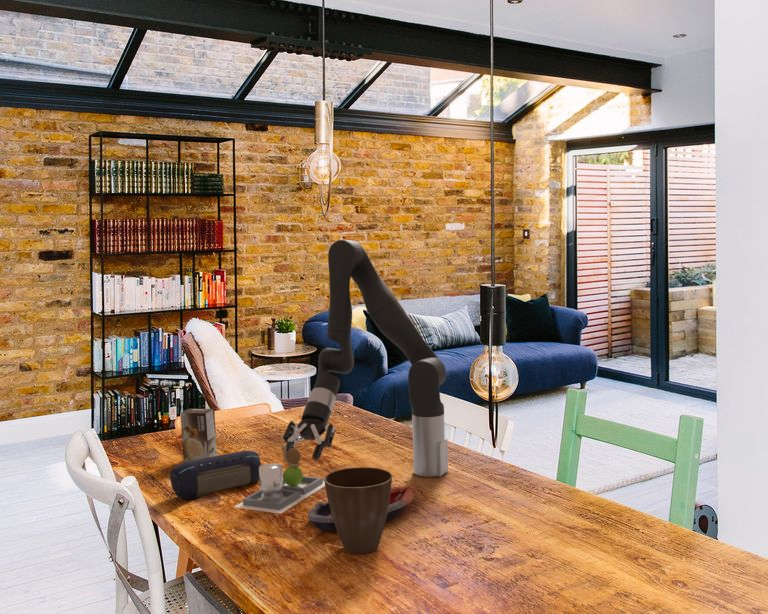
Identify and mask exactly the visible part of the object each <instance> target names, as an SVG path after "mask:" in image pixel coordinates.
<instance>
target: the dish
mask: <svg viewBox="0 0 768 614" xmlns="http://www.w3.org/2000/svg"><path fill="white" fill-rule="evenodd" d="M415 491H416V490H415V488H414V487H411V486H410V485H409V486H391V494H390V501H389V507H388V512H387V517H386V521H385V523H386V522H388V521H391V520H394V519H395V518H397V517H399V516H402V515H403V514H404V513H406V511H407V510H408V508H409V506H410V505H411V502H412V501H413V498H415V497H414V496H415ZM307 518H308V520H309V521H310V524H311V525H312V526H314V527H316V529H317V530H319V531H326V532H327V531H328V532H337V529H336V526H335V524H334V520H333V517H332V515H331V510H330V507H329V503H328V500H324V501H317V502H316V504H315V505H313V507H311V509H310V510H309V511H308V513H307Z"/></svg>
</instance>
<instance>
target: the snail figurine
mask: <svg viewBox="0 0 768 614" xmlns="http://www.w3.org/2000/svg"><path fill="white" fill-rule="evenodd" d="M280 443H281V451H282V457H283V460H284V462H285V464H286V465H288V467H286V468H285V469H284V470H283V480H284V482H285V483H286V484H287V485H289V486H296V485H298V484H300V483H301V481H302V479H303V476H304V474H303V470H302V469H301V468H300V466H301V462H300V461H301V452H300V451H299V450H298V448H295V447H294V448H291V449H289V450H288V452H286V446H287V444H286V445H285V444H284V443H285V441H284V439H282V440H281V441H280Z"/></svg>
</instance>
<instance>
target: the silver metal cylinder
mask: <svg viewBox="0 0 768 614" xmlns="http://www.w3.org/2000/svg"><path fill="white" fill-rule="evenodd" d="M283 468H284V467H283V465H282V464H281V463H276V462H274V463H271V462H270V463H266V464H264V463H263V464H261V466H260V467H259V481H258V482H259V483H258V484H259V490H260V500H264V501H272V502H280V501H282V500H283V499H284V491H283V473H284V469H283Z"/></svg>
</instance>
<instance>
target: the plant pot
mask: <svg viewBox="0 0 768 614" xmlns="http://www.w3.org/2000/svg"><path fill="white" fill-rule="evenodd" d="M323 481H324V482H325V486H324V487H325V491H326V492H325V493H326V498H327V501H328V503H329V507H330V510H331V513H330V515H331V516H332V517H333V520H334V524H335V526H336V529H337V531H336V532H337V535H338V537H339V539H340V541H341V544H342V546H343V548H344V551H346V552H347V553H350V554H354V555H365V554H370V553H372V552H375V551H376V550H377V549H378V547H379V545H380V541H381V538H382V536H383V532H384V528H385V524H386V522H387V521H386V517H387V512H388V507H389V501H390V494H391V487H392V483H393V474H392V473H391V472H390V471H388V470H385V469H383V468H377V467H364V466H361V467H360V466H359V467H349V468H347V467H346V468H342V469H338V470H334V471H331V472H329V473H328V474H326V475H325V476H324V478H323ZM385 521H386V522H385Z"/></svg>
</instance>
